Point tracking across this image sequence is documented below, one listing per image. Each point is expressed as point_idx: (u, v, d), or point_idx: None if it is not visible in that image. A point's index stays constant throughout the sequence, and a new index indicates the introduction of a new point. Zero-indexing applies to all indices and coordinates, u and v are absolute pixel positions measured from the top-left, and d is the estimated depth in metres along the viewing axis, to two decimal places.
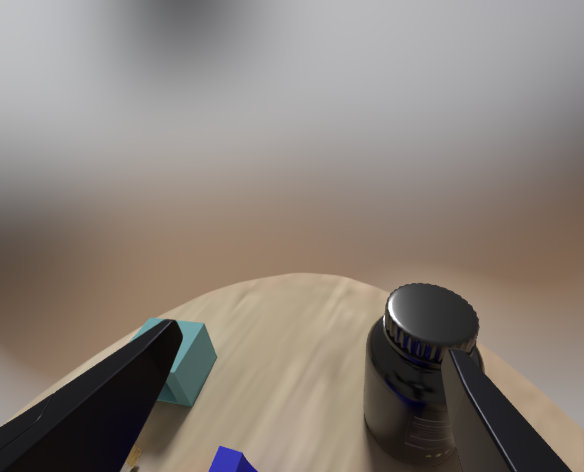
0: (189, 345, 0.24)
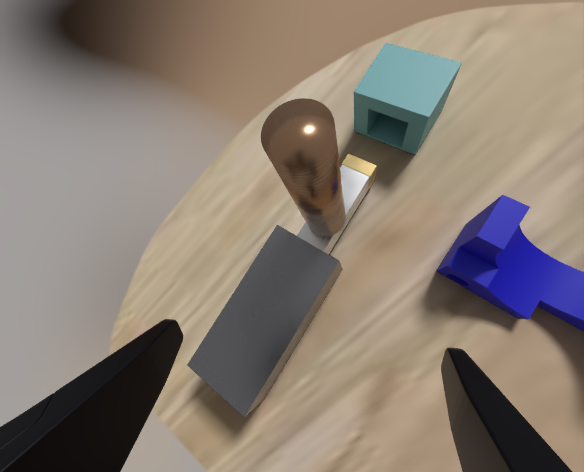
0: (444, 88, 0.20)
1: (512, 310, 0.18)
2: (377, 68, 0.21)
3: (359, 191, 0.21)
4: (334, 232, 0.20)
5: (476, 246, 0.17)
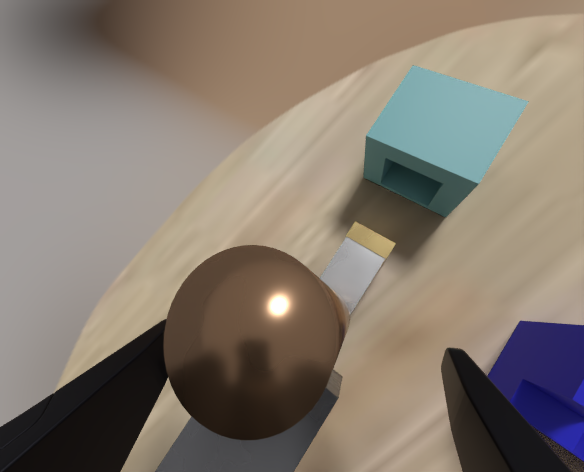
0: (501, 140, 0.13)
1: None
2: (401, 102, 0.15)
3: (370, 280, 0.15)
4: None
5: (561, 398, 0.11)
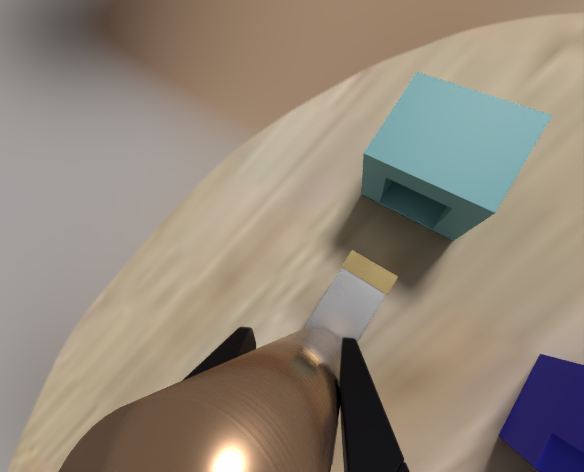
0: (521, 161, 0.11)
1: None
2: (403, 115, 0.13)
3: (369, 319, 0.13)
4: None
5: None
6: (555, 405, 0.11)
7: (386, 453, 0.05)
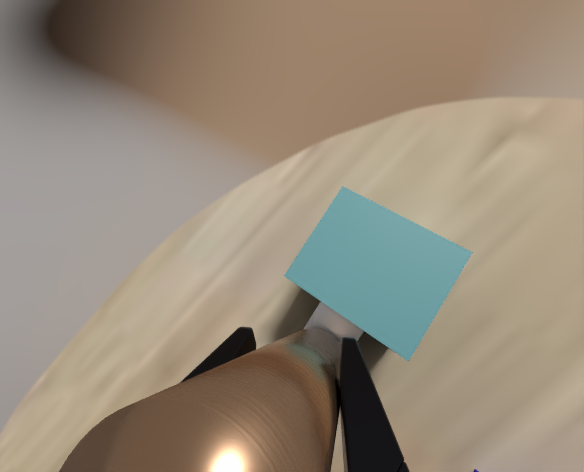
0: (438, 303, 0.11)
1: None
2: (325, 236, 0.12)
3: None
4: None
5: None
6: None
7: (386, 453, 0.05)
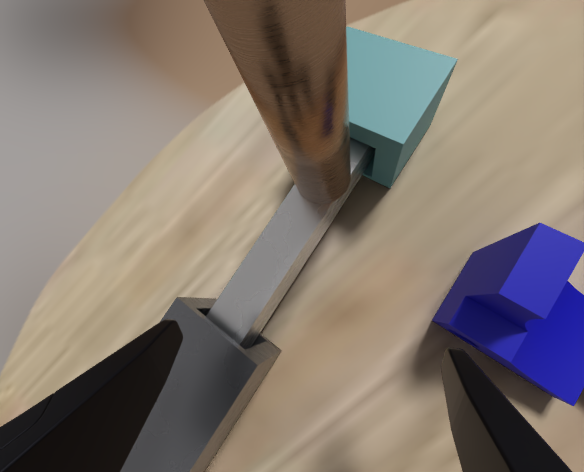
0: (428, 99, 0.13)
1: (546, 390, 0.12)
2: None
3: None
4: (334, 197, 0.14)
5: (495, 302, 0.11)
6: (472, 277, 0.13)
7: None
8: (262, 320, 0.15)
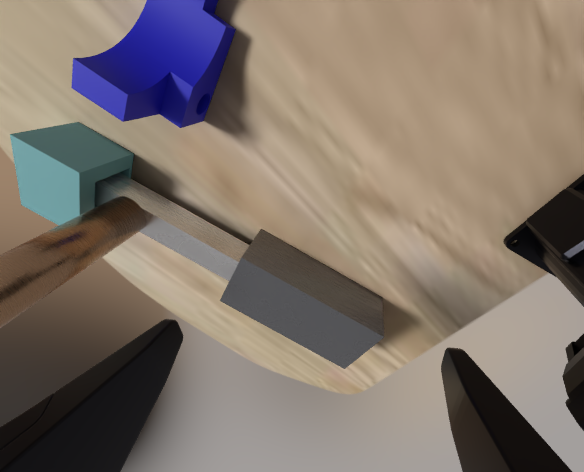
0: (44, 154, 0.18)
1: (221, 44, 0.16)
2: (49, 214, 0.21)
3: None
4: (135, 209, 0.20)
5: (143, 108, 0.15)
6: None
7: None
8: (233, 246, 0.22)
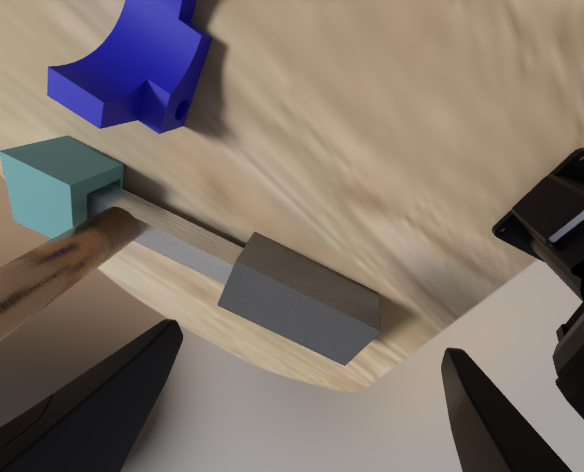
0: (34, 169, 0.18)
1: (198, 53, 0.16)
2: (42, 228, 0.21)
3: None
4: (128, 218, 0.20)
5: (121, 115, 0.15)
6: None
7: None
8: (227, 250, 0.22)
